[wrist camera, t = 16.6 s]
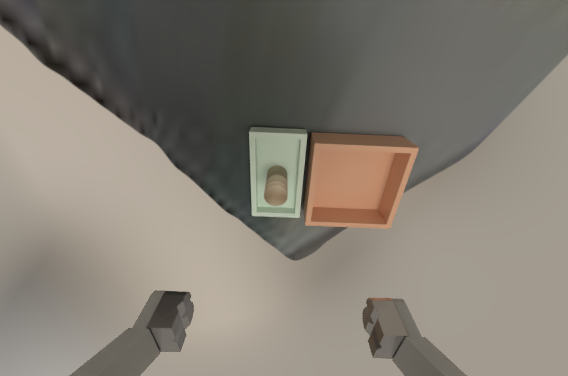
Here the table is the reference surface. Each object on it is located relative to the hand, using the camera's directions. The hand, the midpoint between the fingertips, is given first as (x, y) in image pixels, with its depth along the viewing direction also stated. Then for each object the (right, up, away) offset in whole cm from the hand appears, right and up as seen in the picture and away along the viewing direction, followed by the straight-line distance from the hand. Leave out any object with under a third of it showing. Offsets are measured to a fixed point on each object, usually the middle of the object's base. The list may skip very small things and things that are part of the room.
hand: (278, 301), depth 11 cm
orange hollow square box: (+13, +8, +36) cm, 39 cm away
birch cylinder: (-1, +8, +35) cm, 36 cm away
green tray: (-1, +8, +36) cm, 37 cm away
